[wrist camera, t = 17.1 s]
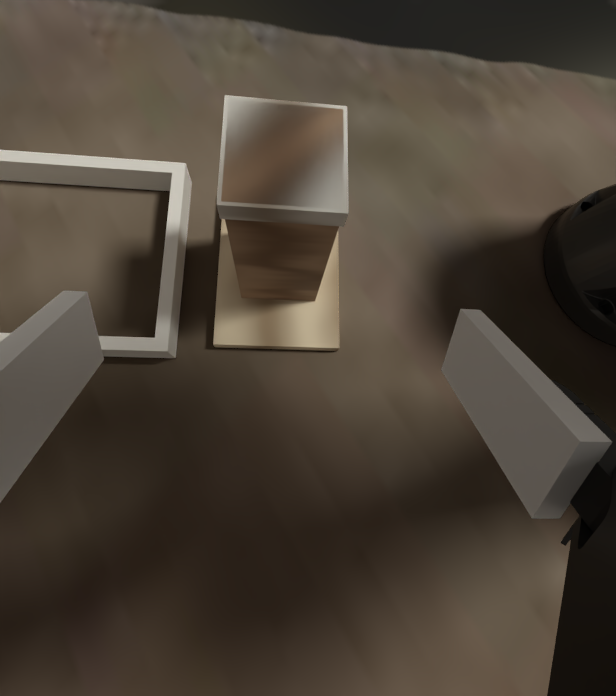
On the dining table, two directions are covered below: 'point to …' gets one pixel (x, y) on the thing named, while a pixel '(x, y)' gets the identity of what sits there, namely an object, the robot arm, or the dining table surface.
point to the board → (275, 311)
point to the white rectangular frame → (130, 177)
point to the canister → (282, 192)
